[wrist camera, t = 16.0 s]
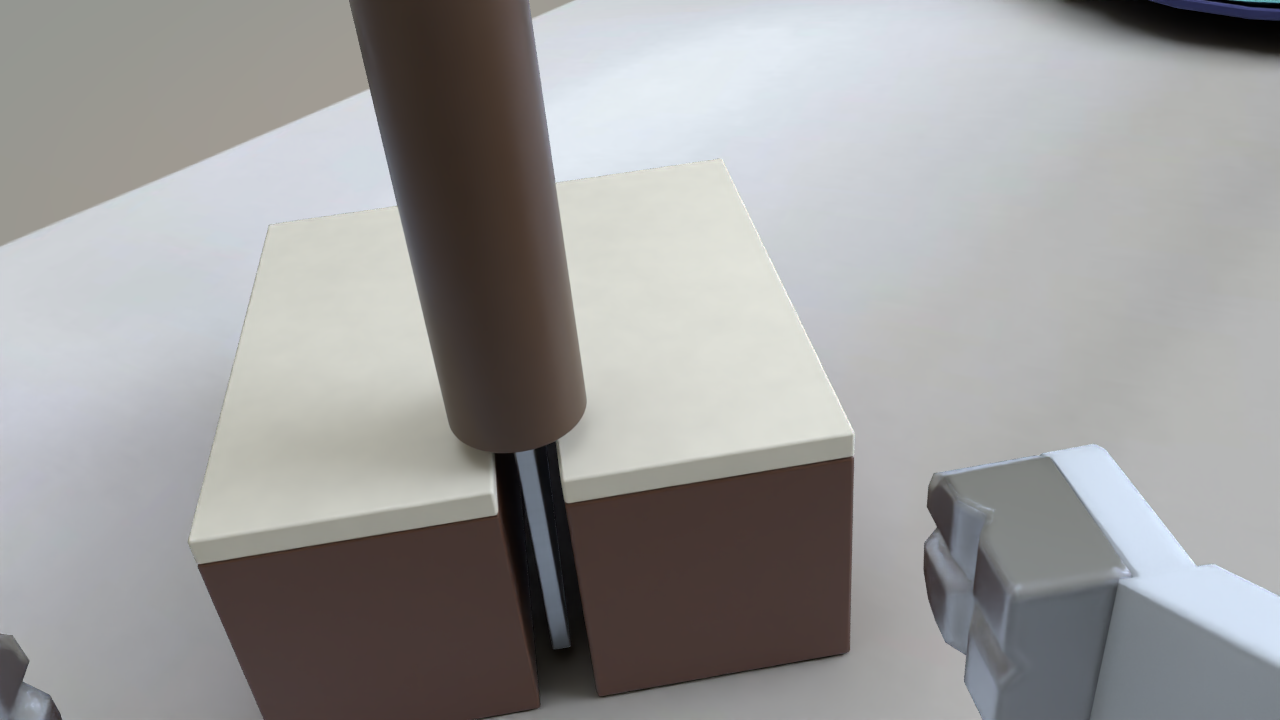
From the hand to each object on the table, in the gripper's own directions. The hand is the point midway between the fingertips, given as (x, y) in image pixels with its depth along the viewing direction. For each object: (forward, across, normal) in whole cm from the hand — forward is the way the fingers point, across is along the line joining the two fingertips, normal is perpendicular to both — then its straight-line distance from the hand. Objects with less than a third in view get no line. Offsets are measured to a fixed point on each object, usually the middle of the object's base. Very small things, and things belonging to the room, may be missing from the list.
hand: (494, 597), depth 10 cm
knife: (+15, 0, +12) cm, 19 cm away
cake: (+14, 0, +12) cm, 19 cm away
